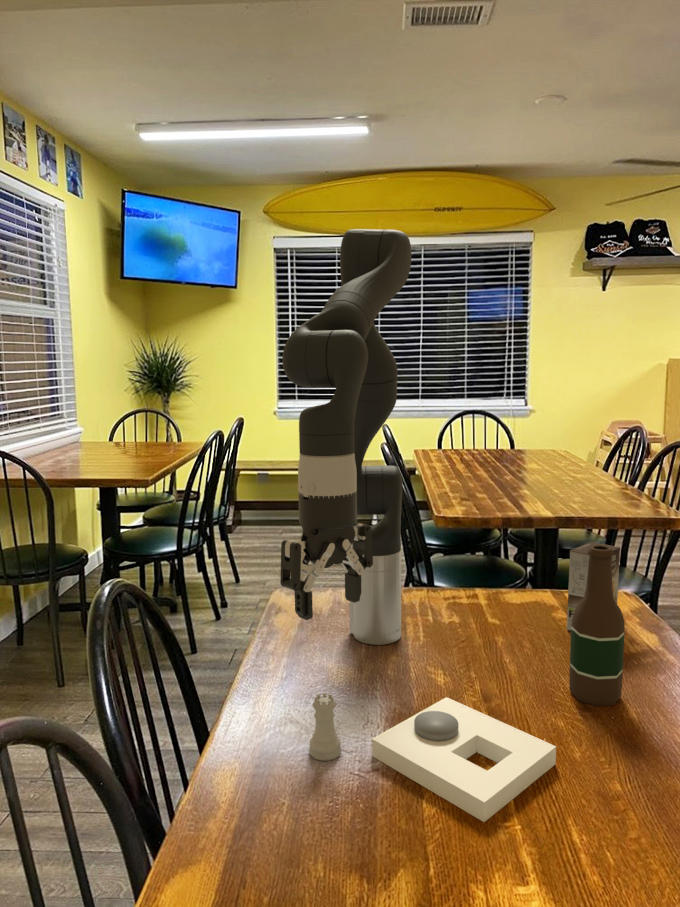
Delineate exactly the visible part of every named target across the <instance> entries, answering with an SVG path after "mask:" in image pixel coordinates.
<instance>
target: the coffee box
mask: <svg viewBox="0 0 680 907" xmlns="http://www.w3.org/2000/svg"><path fill="white" fill-rule="evenodd" d="M595 545H602V546H607V547H609V548H611V549H613V553H614V556H612V589H613V596H614V600H615V602H616V603H617V604H618V598H619V596H618V595H619V594H618V593H619V580H620V576H619V574H620V556H621V547H620V546H615V545H610V544H609V545H608V544H605V543H596V542H592V541H590V542H588V543H585V544H583V545H580V546H577V547H575V548H573V549H570V550H569V565H568V566H569V568H568V590H567V592H568V594H567V597H568V598H567V611H566V612H567V618H566V630H567V631H570V632H571V624H572V615H573V613H574V611H575V608H576V606H577V605H578V604H579V602H580V601H581V600H582V599H583V597H584V595H585V590H586V585H587V575H588V566H589V557H590V555H589V554H588V550H589V548H590V547H592V546H595Z"/></svg>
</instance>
